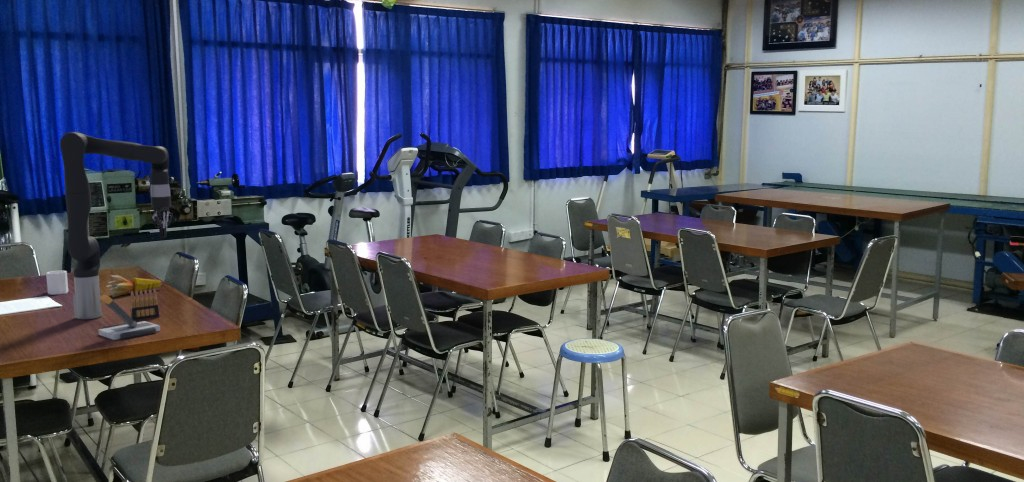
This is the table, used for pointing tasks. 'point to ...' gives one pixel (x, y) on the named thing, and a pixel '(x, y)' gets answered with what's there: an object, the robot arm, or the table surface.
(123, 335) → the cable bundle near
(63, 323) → the table surface
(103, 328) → the grey bar
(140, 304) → the ammunition clip
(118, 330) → the grey flat slab
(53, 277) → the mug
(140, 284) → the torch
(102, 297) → the lever
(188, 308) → the table surface
